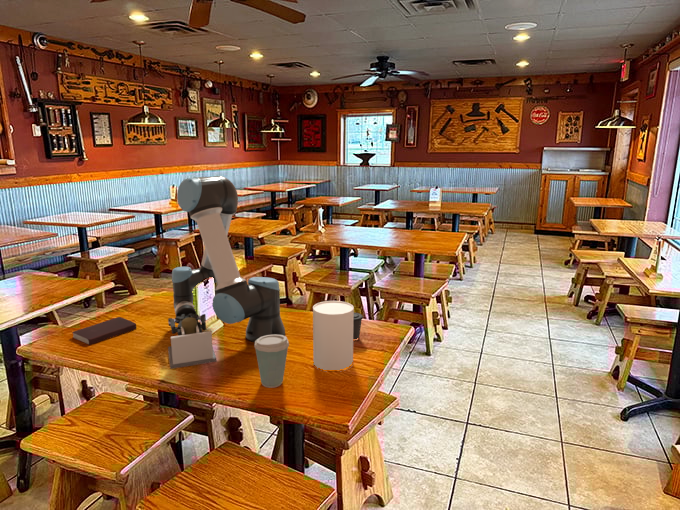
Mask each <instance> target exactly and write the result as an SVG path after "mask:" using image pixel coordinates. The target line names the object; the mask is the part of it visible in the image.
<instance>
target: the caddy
mask: <svg viewBox="0 0 680 510" xmlns="http://www.w3.org/2000/svg"><path fill="white" fill-rule="evenodd" d="M212 333H213V332H212V330H209V331H202V332H201V333H194V334H187V335H179V336H178V335H174V336H173V335H172V336H170V344H171V346H168V347H167V349H168V350H167V352H168V360H169V368H170V370H172V369H178V368H184V367H189V366H196V365H203V364H209V363H215V362H216V363H217V356H216V353H215V349H214V346H213V335H212Z"/></svg>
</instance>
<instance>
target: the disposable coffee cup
mask: <svg viewBox="0 0 680 510" xmlns="http://www.w3.org/2000/svg"><path fill="white" fill-rule="evenodd" d="M253 345H254V349H255V354H256V360H257V365H258V370H259V371H258V372H259V376H260V377H259V378H260V382H261V384H262V385H261V386H263V387H265V388H270V389H271V388H277V387H280V386H281V385H282V384H283V382H284V378H285V377H284V375H285V369H286V362H287V357H288V356H287V355H288V350H289V349H288V348H289V346H290V343H289V339H288V337H287V336H286V335H285V336H283V335H276V334H274V335H266V336H262V337H260V338H258V339H257V340H256V341H255V342H254V344H253Z"/></svg>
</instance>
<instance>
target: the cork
mask: <svg viewBox="0 0 680 510" xmlns="http://www.w3.org/2000/svg"><path fill="white" fill-rule="evenodd" d="M181 324H182V327H183V328H184V333H185V335H187V334H194V333H196V326H197V320H196V319H195V318H192V317H189V318H185V319H183V320H182V323H181Z"/></svg>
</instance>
